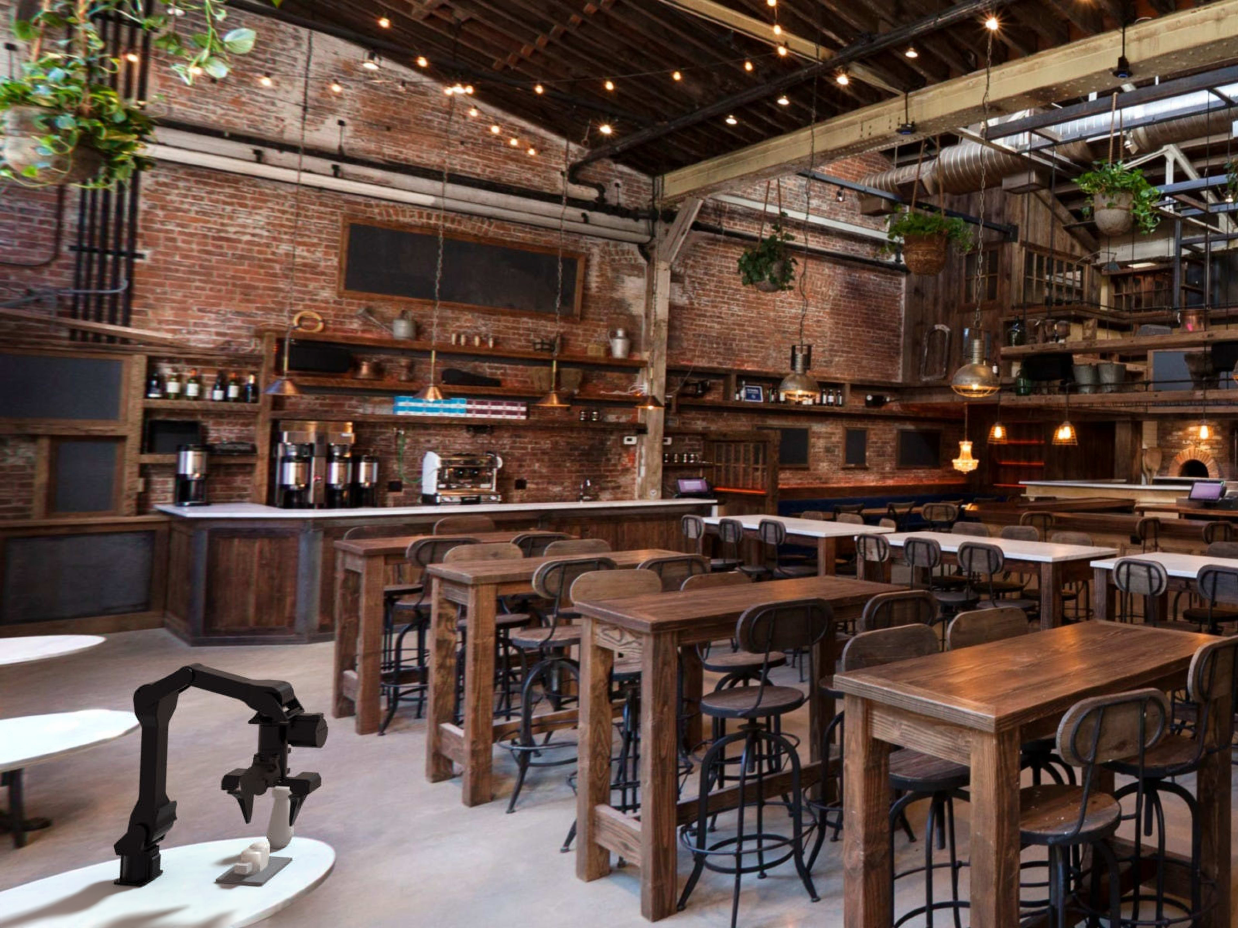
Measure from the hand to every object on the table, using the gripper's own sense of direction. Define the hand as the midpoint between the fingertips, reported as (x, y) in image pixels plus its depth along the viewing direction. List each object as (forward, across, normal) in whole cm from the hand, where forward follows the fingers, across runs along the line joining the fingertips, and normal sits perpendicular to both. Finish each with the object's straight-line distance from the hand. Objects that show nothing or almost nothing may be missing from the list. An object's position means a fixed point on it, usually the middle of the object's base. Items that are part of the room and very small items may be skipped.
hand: (269, 824), depth 166 cm
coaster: (+12, -6, +6) cm, 15 cm away
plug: (+11, -6, +6) cm, 14 cm away
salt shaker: (+12, -8, +19) cm, 24 cm away
